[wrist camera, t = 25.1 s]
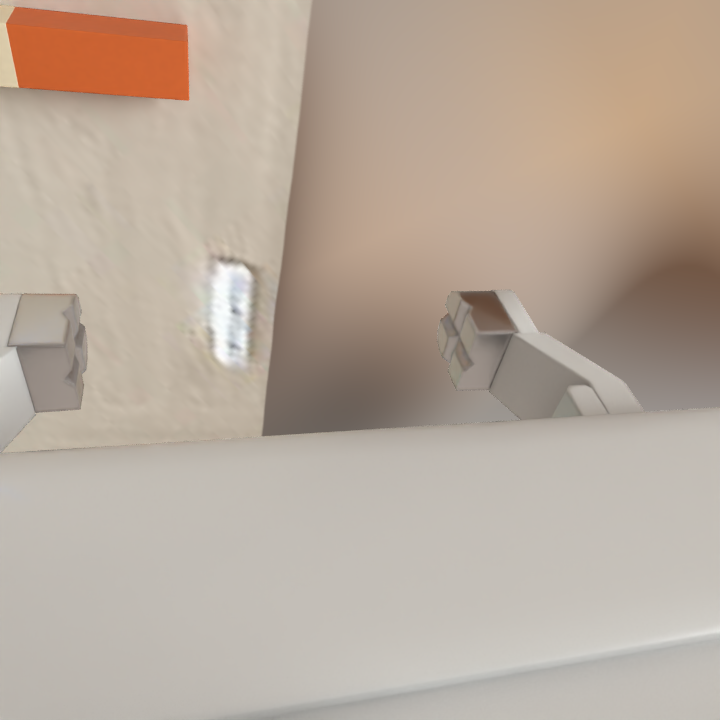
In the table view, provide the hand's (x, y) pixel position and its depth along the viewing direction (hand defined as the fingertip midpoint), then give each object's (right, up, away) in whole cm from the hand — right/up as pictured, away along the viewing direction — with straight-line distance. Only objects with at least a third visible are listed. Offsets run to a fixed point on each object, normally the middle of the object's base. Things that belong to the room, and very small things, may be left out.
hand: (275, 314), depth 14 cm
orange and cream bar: (-21, +21, +29) cm, 42 cm away
